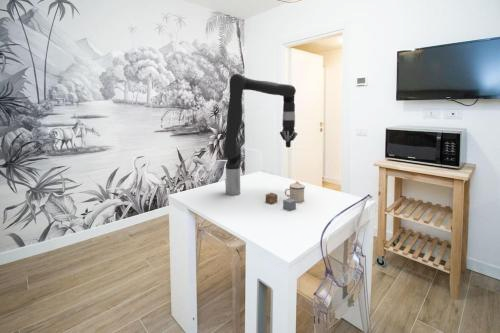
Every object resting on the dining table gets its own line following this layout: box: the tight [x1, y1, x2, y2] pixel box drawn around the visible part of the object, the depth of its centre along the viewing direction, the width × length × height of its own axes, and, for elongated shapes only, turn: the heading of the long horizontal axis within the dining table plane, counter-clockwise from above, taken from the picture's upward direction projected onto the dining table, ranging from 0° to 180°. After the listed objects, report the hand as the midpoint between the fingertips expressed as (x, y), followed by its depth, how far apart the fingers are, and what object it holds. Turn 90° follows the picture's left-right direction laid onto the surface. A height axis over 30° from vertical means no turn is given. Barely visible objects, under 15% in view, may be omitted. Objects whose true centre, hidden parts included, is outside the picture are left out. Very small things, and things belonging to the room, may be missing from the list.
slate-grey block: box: [282, 197, 297, 212], centre depth 152 cm, size 5×5×5 cm
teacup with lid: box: [284, 180, 305, 203], centre depth 165 cm, size 12×9×12 cm
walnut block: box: [265, 192, 278, 205], centre depth 162 cm, size 5×5×5 cm
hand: (288, 147), depth 170 cm, fingers closed
